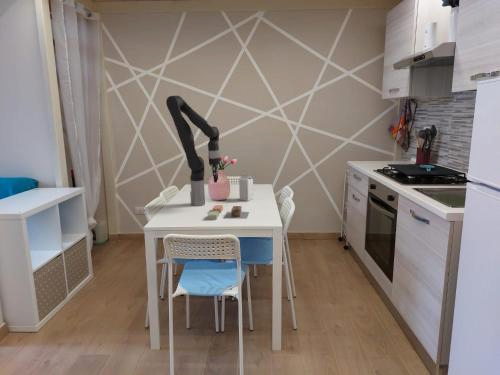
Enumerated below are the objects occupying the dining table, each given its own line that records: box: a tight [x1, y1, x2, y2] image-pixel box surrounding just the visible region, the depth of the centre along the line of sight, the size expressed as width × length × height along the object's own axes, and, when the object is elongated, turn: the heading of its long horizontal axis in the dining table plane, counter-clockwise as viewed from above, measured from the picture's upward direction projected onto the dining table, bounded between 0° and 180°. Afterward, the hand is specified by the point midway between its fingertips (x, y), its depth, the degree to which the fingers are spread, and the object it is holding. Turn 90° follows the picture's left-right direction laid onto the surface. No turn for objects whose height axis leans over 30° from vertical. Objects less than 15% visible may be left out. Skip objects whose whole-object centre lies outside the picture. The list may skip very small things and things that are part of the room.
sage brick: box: [207, 210, 220, 221], centre depth 215 cm, size 5×8×4 cm, turn 175°
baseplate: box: [223, 211, 250, 220], centre depth 220 cm, size 14×14×2 cm
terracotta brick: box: [212, 204, 224, 214], centre depth 229 cm, size 5×8×4 cm, turn 173°
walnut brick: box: [230, 205, 243, 217], centre depth 219 cm, size 5×8×4 cm, turn 174°
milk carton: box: [238, 173, 254, 202], centre depth 261 cm, size 7×7×19 cm
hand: (216, 181), depth 244 cm, fingers open, 8 cm apart
